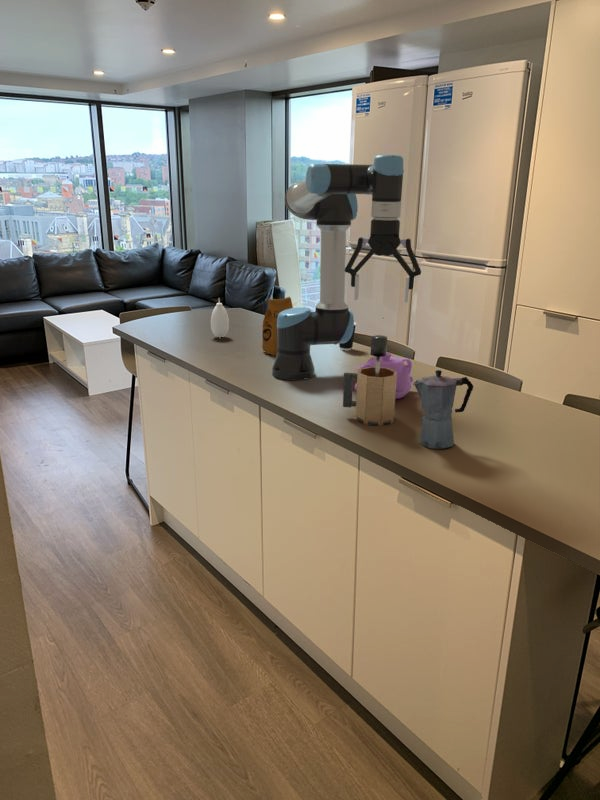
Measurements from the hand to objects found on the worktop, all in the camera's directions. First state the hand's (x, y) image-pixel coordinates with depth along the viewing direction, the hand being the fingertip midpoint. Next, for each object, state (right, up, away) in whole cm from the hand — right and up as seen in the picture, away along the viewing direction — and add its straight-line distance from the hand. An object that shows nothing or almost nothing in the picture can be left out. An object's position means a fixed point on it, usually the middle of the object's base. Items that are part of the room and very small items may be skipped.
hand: (381, 300), depth 165 cm
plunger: (0, -27, +9) cm, 28 cm away
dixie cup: (-3, -6, +86) cm, 87 cm away
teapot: (+6, -26, +30) cm, 41 cm away
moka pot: (+14, -39, -5) cm, 42 cm away
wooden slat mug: (-2, -32, +12) cm, 34 cm away
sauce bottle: (-57, 0, +103) cm, 118 cm away
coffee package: (-31, -8, +81) cm, 87 cm away
